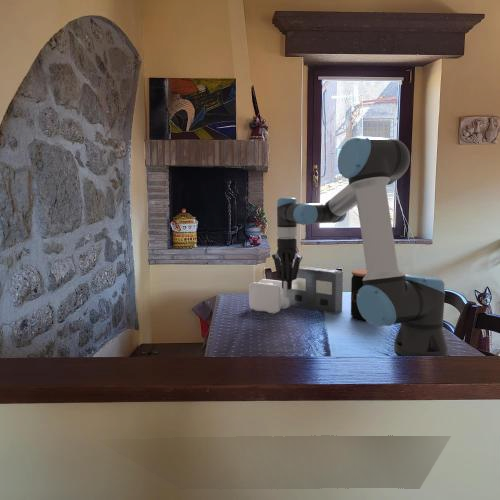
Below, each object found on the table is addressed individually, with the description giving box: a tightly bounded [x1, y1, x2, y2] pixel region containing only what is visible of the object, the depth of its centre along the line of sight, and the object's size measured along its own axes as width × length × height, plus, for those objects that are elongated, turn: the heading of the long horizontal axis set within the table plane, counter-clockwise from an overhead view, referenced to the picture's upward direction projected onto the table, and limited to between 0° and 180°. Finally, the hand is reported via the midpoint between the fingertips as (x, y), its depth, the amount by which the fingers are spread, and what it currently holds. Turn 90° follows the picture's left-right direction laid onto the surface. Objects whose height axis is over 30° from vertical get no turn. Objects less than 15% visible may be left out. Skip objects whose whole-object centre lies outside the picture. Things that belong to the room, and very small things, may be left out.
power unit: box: [289, 265, 344, 314], centre depth 184 cm, size 6×22×16 cm, turn 52°
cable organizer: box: [248, 278, 291, 314], centre depth 183 cm, size 15×11×12 cm
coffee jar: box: [350, 268, 368, 323], centre depth 169 cm, size 11×11×18 cm
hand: (286, 297), depth 176 cm, fingers closed
